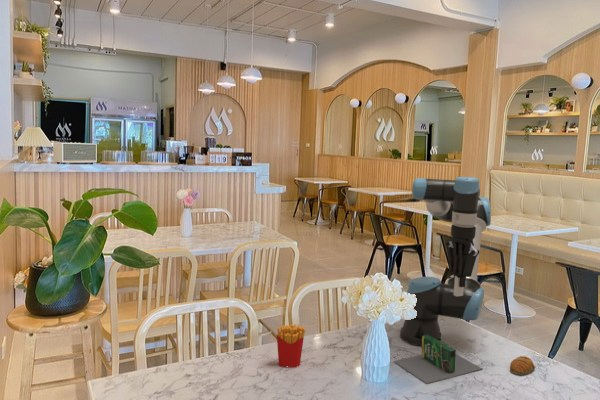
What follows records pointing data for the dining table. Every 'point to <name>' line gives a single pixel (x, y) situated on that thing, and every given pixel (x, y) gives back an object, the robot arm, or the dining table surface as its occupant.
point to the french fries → (290, 345)
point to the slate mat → (435, 368)
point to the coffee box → (438, 353)
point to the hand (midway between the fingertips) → (458, 295)
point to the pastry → (522, 365)
